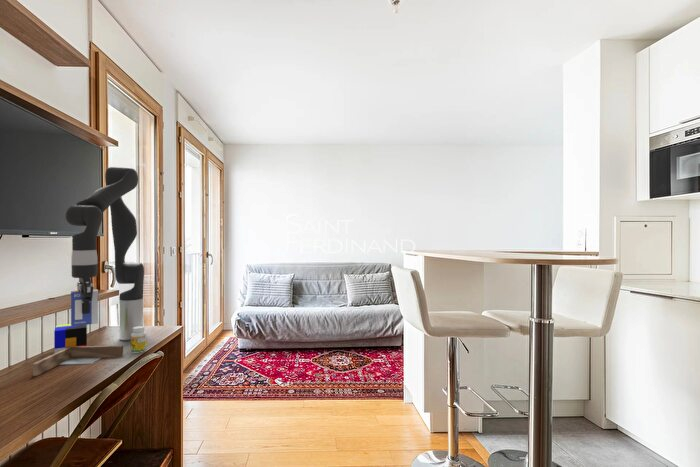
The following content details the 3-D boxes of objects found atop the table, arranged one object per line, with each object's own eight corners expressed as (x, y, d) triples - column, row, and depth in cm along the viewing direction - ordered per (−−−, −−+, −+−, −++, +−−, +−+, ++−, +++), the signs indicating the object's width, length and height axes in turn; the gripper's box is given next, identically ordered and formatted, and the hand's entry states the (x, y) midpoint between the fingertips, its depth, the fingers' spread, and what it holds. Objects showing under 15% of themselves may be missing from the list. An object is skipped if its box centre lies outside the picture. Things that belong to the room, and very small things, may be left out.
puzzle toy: (54, 357, 147) (54, 330, 147) (56, 351, 156) (56, 325, 156) (86, 353, 153) (86, 327, 153) (86, 347, 161) (86, 322, 161)
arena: (69, 357, 148) (69, 346, 148) (123, 356, 149) (123, 345, 149) (33, 375, 129) (33, 363, 129) (94, 374, 130) (94, 362, 130)
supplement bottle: (148, 352, 155) (148, 327, 155) (133, 355, 151) (133, 329, 151) (143, 349, 158) (143, 325, 158) (128, 352, 154) (128, 327, 154)
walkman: (71, 326, 136) (71, 291, 135) (71, 324, 138) (71, 290, 137) (98, 323, 140) (98, 289, 140) (97, 321, 142) (97, 288, 142)
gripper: (102, 264, 136) (102, 314, 136) (92, 261, 146) (93, 308, 146) (75, 265, 131) (76, 318, 131) (67, 262, 140) (68, 311, 141)
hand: (85, 312), depth 138 cm, fingers closed on walkman, 2 cm apart
